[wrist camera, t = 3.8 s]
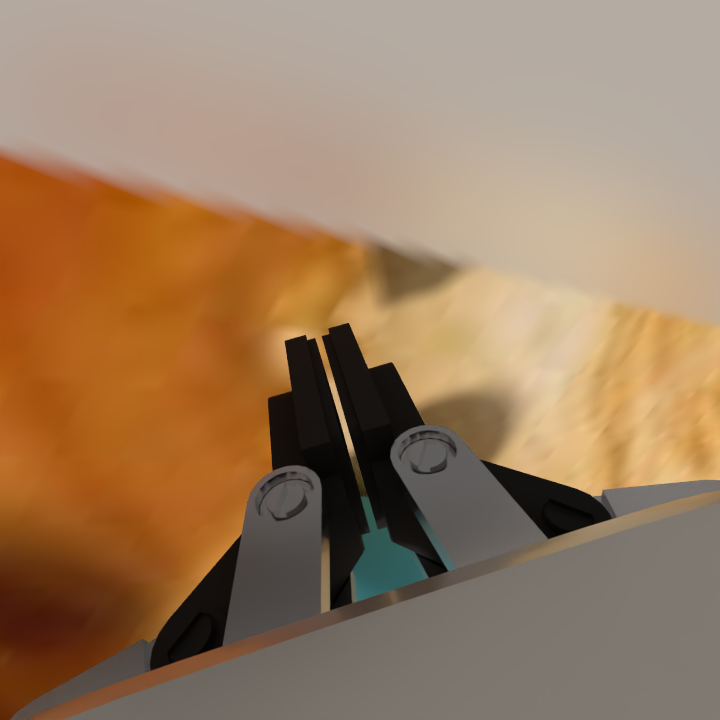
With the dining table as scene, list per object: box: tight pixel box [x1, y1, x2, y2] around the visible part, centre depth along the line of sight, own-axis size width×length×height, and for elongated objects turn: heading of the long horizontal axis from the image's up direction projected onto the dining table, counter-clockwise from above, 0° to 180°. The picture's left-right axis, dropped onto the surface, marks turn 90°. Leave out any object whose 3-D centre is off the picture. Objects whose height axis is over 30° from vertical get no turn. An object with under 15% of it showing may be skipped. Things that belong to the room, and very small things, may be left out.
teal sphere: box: [353, 496, 424, 602], centre depth 17 cm, size 6×6×6 cm
